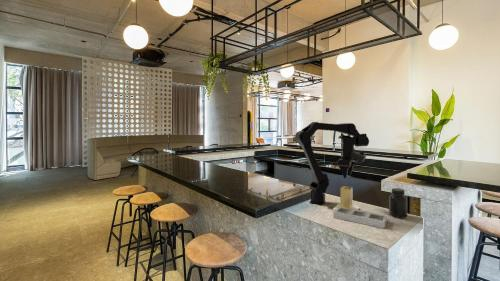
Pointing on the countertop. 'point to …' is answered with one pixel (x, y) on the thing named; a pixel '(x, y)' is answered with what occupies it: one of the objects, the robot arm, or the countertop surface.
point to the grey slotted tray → (360, 217)
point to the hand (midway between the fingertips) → (347, 176)
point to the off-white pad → (352, 207)
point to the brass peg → (346, 197)
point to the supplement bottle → (398, 204)
